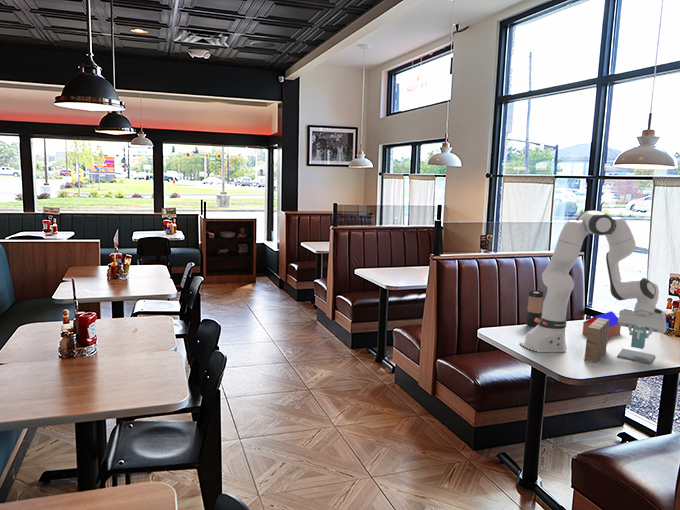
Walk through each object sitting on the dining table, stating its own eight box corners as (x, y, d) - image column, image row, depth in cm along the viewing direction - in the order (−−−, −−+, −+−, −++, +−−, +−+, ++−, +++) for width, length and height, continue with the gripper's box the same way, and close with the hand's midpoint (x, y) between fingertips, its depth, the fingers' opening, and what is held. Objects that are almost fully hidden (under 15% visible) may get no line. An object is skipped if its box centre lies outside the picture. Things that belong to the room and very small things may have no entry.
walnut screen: (595, 362, 238) (599, 329, 236) (584, 360, 241) (587, 327, 239) (605, 351, 255) (609, 319, 253) (594, 348, 258) (598, 317, 256)
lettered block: (642, 349, 244) (645, 328, 243) (630, 346, 247) (633, 326, 246) (644, 346, 248) (646, 325, 247) (632, 344, 251) (635, 323, 250)
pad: (650, 364, 239) (651, 362, 239) (617, 357, 247) (617, 355, 247) (655, 356, 250) (655, 354, 250) (622, 349, 258) (622, 348, 258)
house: (620, 334, 286) (623, 313, 284) (603, 340, 274) (606, 318, 272) (598, 328, 295) (601, 308, 294) (581, 334, 283) (583, 313, 281)
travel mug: (541, 328, 291) (544, 293, 288) (527, 327, 292) (530, 292, 289) (539, 324, 298) (542, 290, 295) (525, 323, 300) (528, 289, 297)
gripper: (620, 304, 257) (614, 328, 251) (668, 312, 244) (663, 337, 238) (620, 311, 261) (614, 335, 255) (668, 319, 249) (663, 344, 242)
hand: (638, 336), depth 246 cm, fingers closed on lettered block, 5 cm apart
